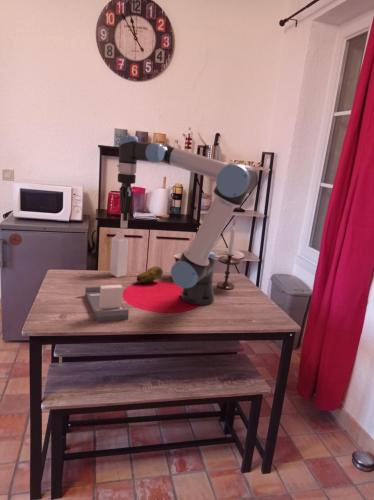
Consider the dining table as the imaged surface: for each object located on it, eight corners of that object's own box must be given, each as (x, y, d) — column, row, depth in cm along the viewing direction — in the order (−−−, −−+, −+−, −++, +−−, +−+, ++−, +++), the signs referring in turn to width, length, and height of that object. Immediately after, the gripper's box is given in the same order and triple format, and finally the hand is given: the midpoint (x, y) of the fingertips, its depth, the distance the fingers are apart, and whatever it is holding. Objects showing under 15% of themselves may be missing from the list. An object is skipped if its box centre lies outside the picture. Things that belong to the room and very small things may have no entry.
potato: (135, 278, 187) (137, 263, 185) (161, 279, 189) (162, 265, 187) (136, 284, 179) (137, 269, 177) (162, 285, 181) (164, 270, 179)
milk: (116, 277, 186) (119, 234, 180) (109, 273, 190) (111, 232, 184) (126, 275, 190) (129, 233, 185) (119, 271, 194) (121, 231, 188)
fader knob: (98, 307, 144) (99, 284, 141) (118, 306, 147) (120, 283, 145) (101, 313, 139) (102, 289, 137) (122, 311, 143) (123, 288, 140)
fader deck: (85, 295, 160) (85, 286, 159) (112, 293, 165) (113, 285, 164) (96, 322, 138) (97, 312, 136) (128, 319, 143) (128, 309, 142)
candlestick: (234, 292, 183) (244, 222, 174) (212, 287, 185) (221, 219, 176) (237, 285, 193) (247, 219, 184) (217, 281, 196) (225, 216, 187)
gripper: (114, 171, 161) (112, 224, 167) (122, 174, 150) (119, 230, 156) (131, 172, 165) (128, 224, 171) (139, 175, 153) (136, 231, 159)
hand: (123, 227), depth 163 cm, fingers closed
